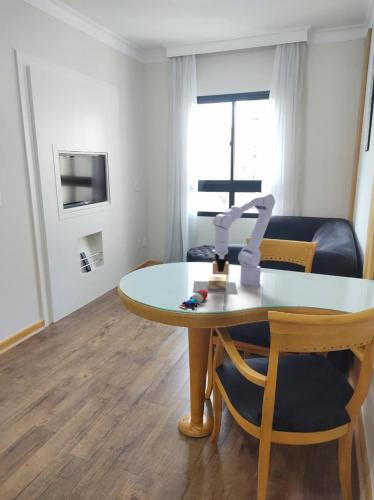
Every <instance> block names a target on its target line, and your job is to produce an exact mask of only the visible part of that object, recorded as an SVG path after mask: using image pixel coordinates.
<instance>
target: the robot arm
mask: <svg viewBox="0 0 374 500" xmlns="http://www.w3.org/2000/svg"><path fill="white" fill-rule="evenodd" d="M275 205H276V199H275V196H274V195H273V194H272V193H262V192H257V191H256V192H254V193H253V194H251V195H250V197H249V198H247V199H246V200H245V201H243V202H242V203H241V204H240V205H231V206H230V208H228V209H227V210H224V211H223V212H222V213H219V214H216V215H215V216H214V219H212V223H213V225H214V229H215V237H214V239H215V240H214V242H215V243H214V249H212V253H214V259H215V261H217V266H218V272H223V270H224V266H225V263H226V262H228V259H229V258H228V253H229V248H228V247H229V246H228V245H229V228H230V227H231V226H232V224H233V222H235V221H237V220H238V219H240V218H241V217H242V216H243V213H244V212H247V211H249V210H250V209H252V208H253V207H254V208H255V209H256V211H257V212H258V217H257V219H256V222H255V224H254V227H253V229H252V232H251V236H250V238H249V241H248V243H247V244H246V245H244V246H242V249H241V250H240V251H239V253H238V255H237V259H238V262H239V264H240V275H239V276H240V277H239V279H238V283H239V285H240V286H259V287H260V283H261V266H260V265H259V264H260V262H261V256H262V252H261V250H260V245H261V244H262V241H263V238H264V235H265V233H266V230H267V227H268V225H269V223H270V219H271V217H272V215H273V209H274V207H275Z"/></svg>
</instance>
